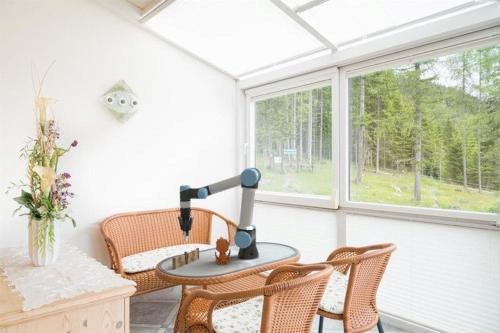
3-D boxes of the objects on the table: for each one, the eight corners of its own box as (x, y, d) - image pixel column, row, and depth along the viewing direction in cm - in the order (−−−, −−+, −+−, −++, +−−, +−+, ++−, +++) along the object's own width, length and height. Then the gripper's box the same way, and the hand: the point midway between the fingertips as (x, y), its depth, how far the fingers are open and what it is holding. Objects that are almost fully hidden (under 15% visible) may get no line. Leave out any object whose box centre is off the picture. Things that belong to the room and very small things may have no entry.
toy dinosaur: (227, 260, 240) (226, 234, 240) (233, 264, 231) (232, 237, 230) (212, 262, 236) (211, 236, 235) (217, 266, 226) (217, 239, 225)
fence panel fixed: (185, 263, 233) (185, 251, 233) (188, 264, 232) (187, 251, 232) (172, 269, 221) (172, 256, 221) (174, 270, 221) (174, 257, 220)
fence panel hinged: (188, 263, 233) (188, 252, 233) (186, 263, 234) (186, 252, 233) (199, 258, 243) (199, 248, 243) (197, 258, 244) (197, 247, 244)
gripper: (196, 207, 243) (196, 240, 244) (181, 206, 249) (182, 238, 250) (189, 208, 236) (190, 242, 237) (174, 207, 243) (175, 240, 243)
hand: (186, 240), depth 243 cm, fingers closed
